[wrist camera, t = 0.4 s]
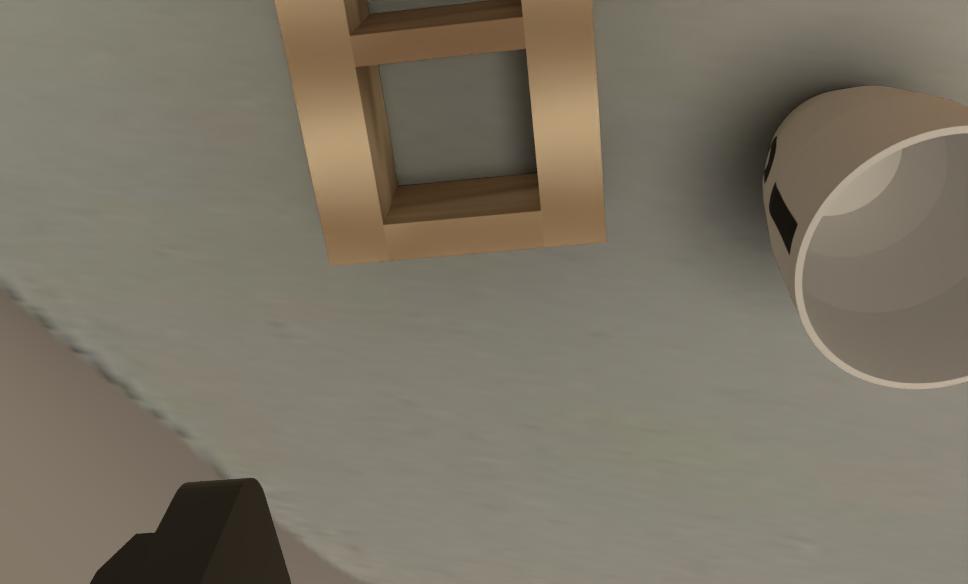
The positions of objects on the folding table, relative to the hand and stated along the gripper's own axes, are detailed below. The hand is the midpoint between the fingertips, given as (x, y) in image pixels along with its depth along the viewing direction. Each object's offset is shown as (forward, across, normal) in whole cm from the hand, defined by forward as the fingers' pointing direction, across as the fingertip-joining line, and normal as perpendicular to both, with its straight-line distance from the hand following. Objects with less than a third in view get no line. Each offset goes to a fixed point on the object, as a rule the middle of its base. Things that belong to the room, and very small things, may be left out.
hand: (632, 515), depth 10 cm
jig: (+26, +4, 0) cm, 26 cm away
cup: (+26, -10, +6) cm, 29 cm away
